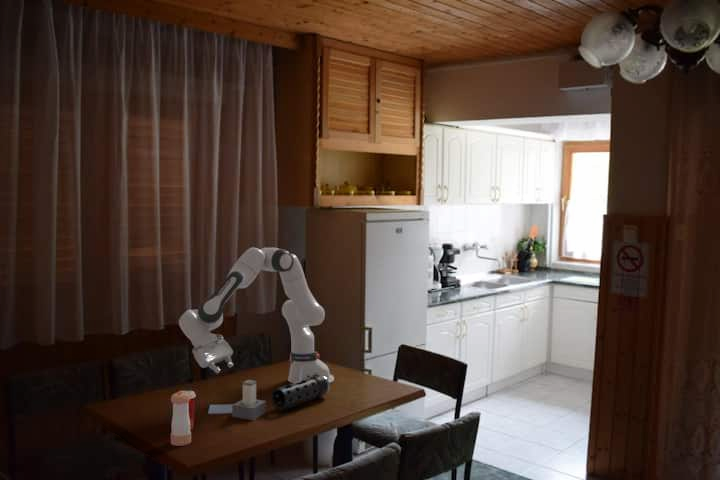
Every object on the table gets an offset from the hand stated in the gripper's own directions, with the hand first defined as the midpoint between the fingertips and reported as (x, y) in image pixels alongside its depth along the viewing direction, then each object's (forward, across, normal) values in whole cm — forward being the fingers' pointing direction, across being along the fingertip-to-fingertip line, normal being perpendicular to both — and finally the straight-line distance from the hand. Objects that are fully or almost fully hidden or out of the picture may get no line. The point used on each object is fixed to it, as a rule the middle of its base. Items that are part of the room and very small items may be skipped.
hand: (225, 369), depth 277 cm
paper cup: (+11, -23, +14) cm, 30 cm away
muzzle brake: (+30, +21, -5) cm, 37 cm away
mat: (+11, 0, +14) cm, 18 cm away
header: (+21, 0, +4) cm, 21 cm away
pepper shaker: (+16, -35, +10) cm, 40 cm away
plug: (+21, 0, +4) cm, 21 cm away
